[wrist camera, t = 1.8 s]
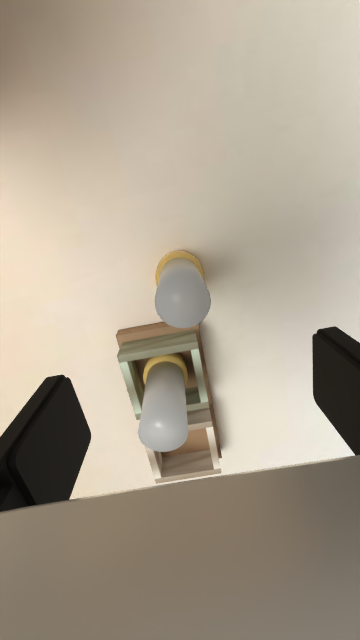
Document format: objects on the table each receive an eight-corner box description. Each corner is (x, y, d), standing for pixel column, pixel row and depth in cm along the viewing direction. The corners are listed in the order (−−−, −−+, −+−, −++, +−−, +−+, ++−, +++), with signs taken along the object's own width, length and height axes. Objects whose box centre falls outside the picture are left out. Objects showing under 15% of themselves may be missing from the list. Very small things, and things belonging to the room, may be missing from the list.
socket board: (118, 330, 31) (109, 348, 27) (196, 315, 31) (200, 331, 27) (156, 459, 38) (154, 489, 34) (220, 448, 38) (225, 477, 34)
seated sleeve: (140, 353, 31) (126, 414, 21) (182, 345, 30) (187, 403, 21) (150, 388, 32) (141, 459, 23) (190, 381, 32) (197, 450, 23)
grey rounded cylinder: (152, 255, 28) (142, 276, 19) (198, 246, 28) (211, 263, 19) (161, 299, 30) (157, 338, 21) (205, 291, 30) (220, 326, 21)
